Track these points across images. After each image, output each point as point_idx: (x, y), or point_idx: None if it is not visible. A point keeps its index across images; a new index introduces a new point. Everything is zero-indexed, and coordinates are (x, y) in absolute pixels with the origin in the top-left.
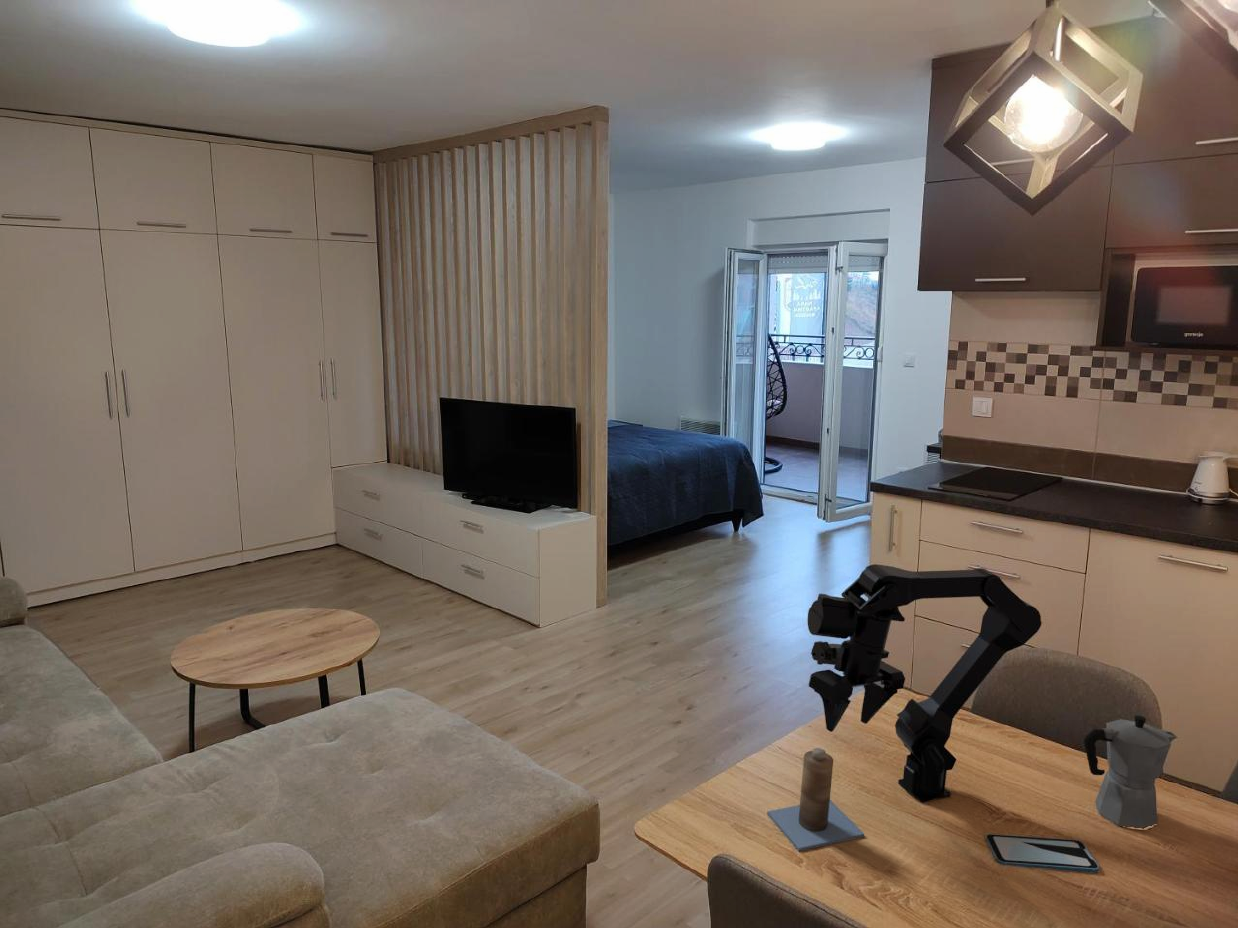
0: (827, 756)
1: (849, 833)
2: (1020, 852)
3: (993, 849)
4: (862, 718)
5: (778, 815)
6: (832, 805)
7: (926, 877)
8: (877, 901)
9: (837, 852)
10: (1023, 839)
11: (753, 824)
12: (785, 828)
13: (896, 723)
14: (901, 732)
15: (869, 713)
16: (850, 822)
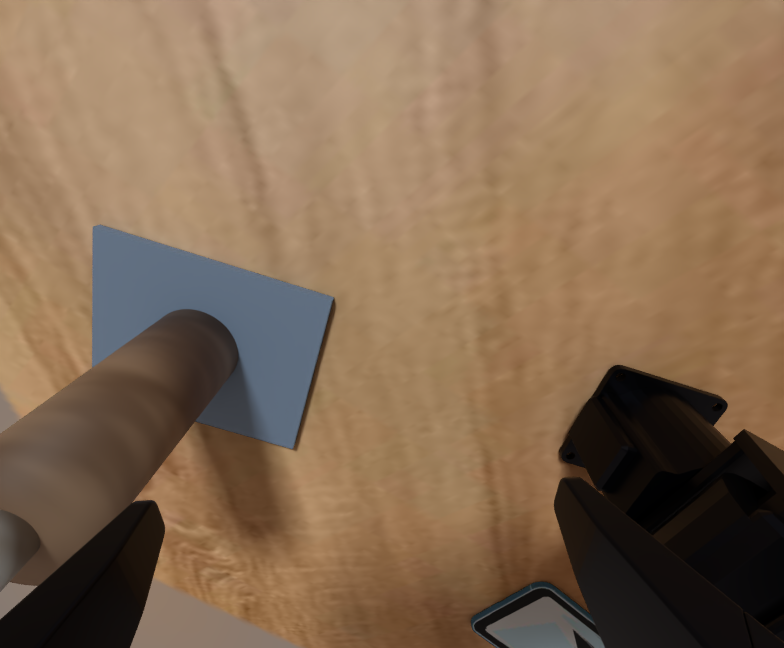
0: (65, 546)
1: (258, 428)
2: (533, 637)
3: (500, 609)
4: (571, 503)
5: (118, 263)
6: (313, 328)
7: (305, 570)
8: (164, 552)
9: (189, 440)
10: (585, 628)
11: (31, 237)
12: (103, 319)
13: (771, 538)
14: (693, 567)
15: (597, 602)
16: (296, 405)
